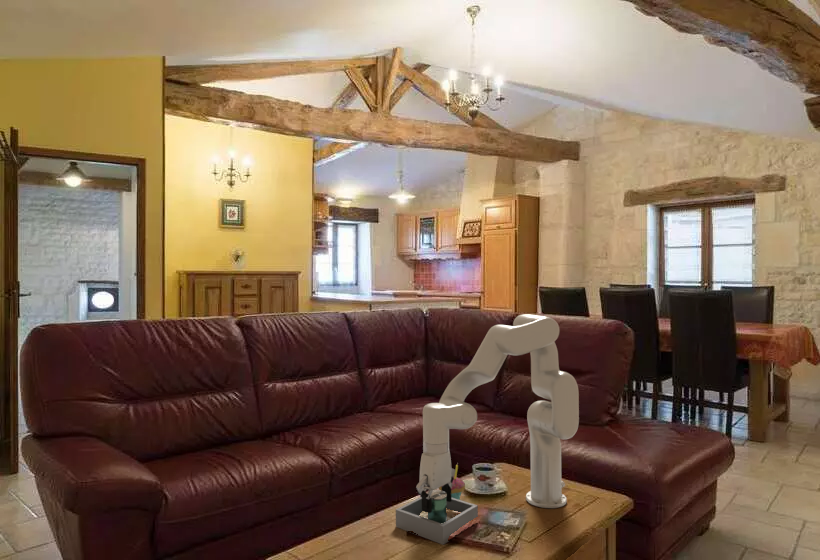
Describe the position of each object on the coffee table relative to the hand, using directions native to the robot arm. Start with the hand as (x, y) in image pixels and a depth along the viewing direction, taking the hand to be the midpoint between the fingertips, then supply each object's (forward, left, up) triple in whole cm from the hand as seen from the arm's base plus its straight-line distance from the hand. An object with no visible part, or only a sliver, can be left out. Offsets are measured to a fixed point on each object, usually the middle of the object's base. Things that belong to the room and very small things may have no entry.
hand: (436, 505), depth 164 cm
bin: (0, 0, -5) cm, 5 cm away
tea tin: (0, 0, -4) cm, 5 cm away
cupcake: (-17, -7, -6) cm, 19 cm away
